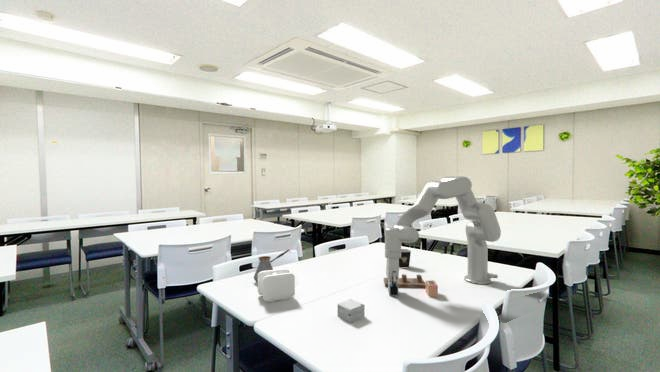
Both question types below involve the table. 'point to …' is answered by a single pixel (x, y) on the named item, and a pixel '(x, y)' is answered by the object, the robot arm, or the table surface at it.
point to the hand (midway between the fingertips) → (393, 291)
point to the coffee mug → (404, 258)
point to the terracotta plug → (431, 288)
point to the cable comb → (409, 282)
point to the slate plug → (389, 287)
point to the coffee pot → (265, 264)
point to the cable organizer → (276, 284)
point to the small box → (351, 310)
